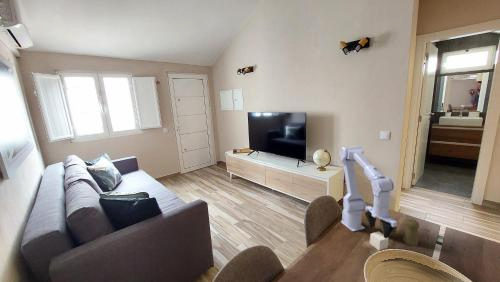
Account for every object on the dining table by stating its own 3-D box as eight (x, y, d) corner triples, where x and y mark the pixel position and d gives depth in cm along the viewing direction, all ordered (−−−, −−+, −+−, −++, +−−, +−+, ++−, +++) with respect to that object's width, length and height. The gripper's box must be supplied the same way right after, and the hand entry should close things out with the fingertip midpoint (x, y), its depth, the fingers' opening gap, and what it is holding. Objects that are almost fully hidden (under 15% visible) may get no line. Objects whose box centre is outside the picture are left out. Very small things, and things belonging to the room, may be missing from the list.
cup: (390, 242, 102) (392, 227, 100) (375, 234, 108) (376, 219, 106) (399, 236, 105) (400, 222, 103) (384, 229, 111) (385, 215, 110)
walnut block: (362, 247, 100) (362, 241, 99) (378, 243, 102) (378, 237, 101) (378, 261, 91) (378, 255, 91) (395, 256, 94) (395, 250, 93)
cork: (421, 246, 98) (423, 224, 96) (406, 245, 99) (408, 224, 97) (414, 237, 104) (416, 217, 101) (400, 236, 105) (402, 216, 103)
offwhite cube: (369, 243, 98) (370, 233, 97) (378, 240, 99) (378, 231, 98) (379, 250, 93) (380, 240, 92) (387, 247, 95) (388, 237, 94)
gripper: (360, 198, 98) (359, 225, 101) (388, 214, 84) (386, 244, 87) (373, 196, 100) (371, 222, 103) (402, 211, 86) (399, 240, 89)
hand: (379, 232), depth 95 cm, fingers open, 7 cm apart
